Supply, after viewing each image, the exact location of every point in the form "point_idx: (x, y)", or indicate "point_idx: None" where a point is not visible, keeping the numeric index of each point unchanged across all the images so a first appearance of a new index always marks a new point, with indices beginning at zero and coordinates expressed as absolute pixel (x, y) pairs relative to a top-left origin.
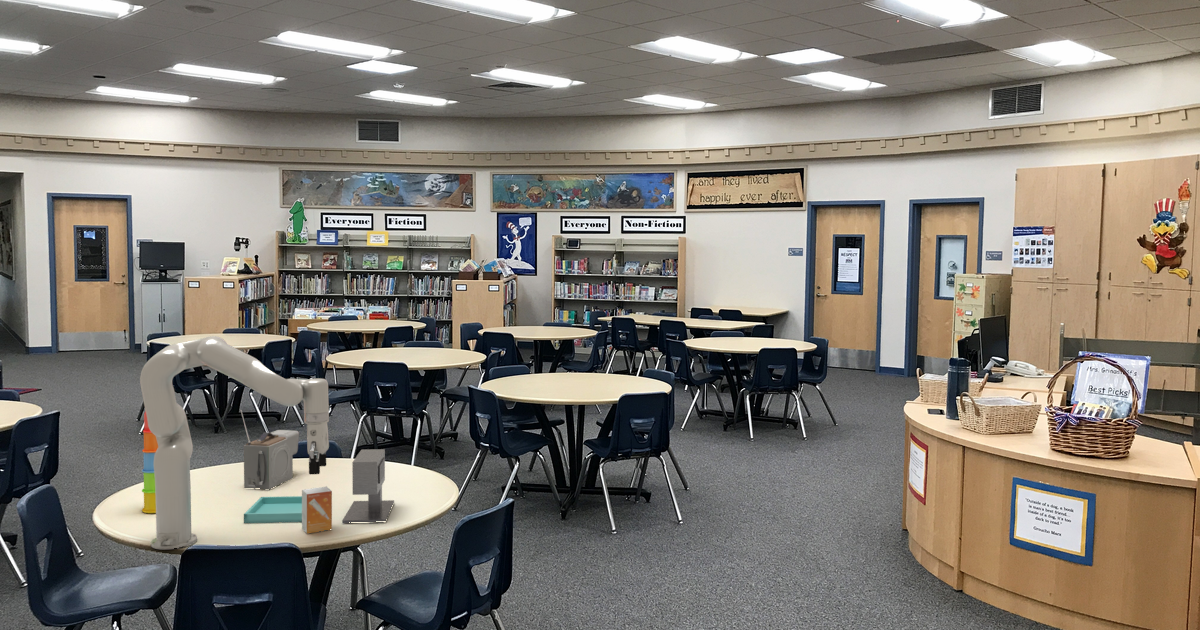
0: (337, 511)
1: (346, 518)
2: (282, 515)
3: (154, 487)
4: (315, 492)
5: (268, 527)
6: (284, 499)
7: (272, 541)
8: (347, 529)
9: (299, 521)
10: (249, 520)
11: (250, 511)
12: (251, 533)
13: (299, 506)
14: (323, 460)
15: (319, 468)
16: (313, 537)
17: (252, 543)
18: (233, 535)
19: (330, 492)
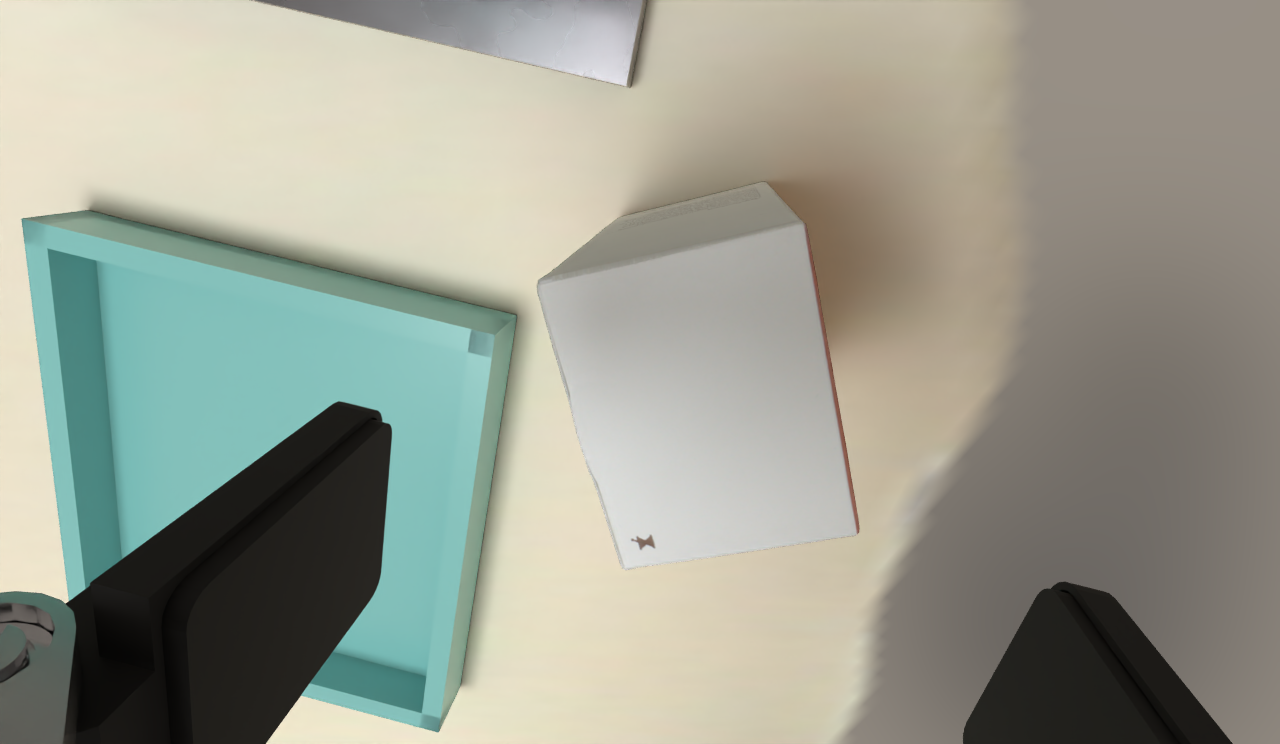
0: (279, 119)
1: (576, 44)
2: (471, 528)
3: None
4: (818, 439)
5: (571, 577)
6: (91, 500)
7: (869, 567)
8: (792, 44)
9: (501, 404)
10: (456, 674)
11: (368, 693)
12: (663, 660)
13: (187, 399)
14: (315, 533)
15: (1181, 686)
16: (895, 322)
17: (860, 663)
18: (670, 736)
19: (805, 238)
